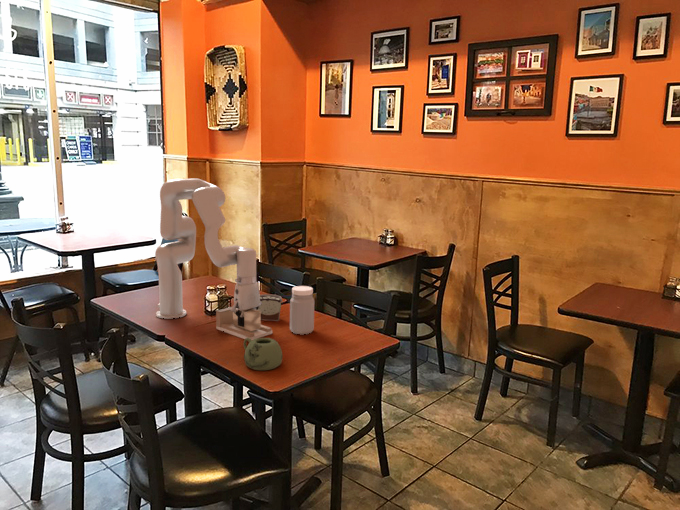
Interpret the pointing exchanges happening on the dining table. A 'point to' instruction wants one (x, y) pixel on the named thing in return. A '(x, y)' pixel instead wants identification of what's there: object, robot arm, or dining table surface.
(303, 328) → the jar
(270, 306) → the food container
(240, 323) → the robot arm
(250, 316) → the beige rectangular block
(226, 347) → the dining table surface
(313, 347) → the dining table surface
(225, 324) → the floor frame
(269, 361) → the green rounded hollow pot
